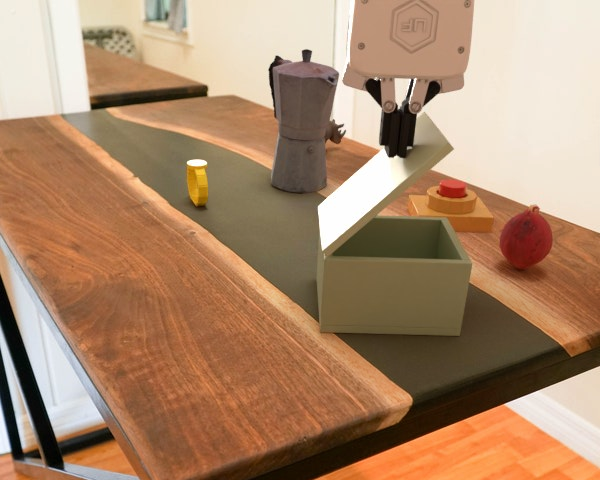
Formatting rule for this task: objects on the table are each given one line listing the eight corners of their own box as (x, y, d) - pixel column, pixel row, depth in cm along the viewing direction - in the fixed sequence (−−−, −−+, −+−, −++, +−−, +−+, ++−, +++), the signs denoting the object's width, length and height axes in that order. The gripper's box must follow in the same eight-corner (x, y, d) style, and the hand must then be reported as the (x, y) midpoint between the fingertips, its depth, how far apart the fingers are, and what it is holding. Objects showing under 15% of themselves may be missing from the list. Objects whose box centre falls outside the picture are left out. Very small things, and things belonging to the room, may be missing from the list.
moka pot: (307, 203, 95) (313, 57, 85) (241, 176, 105) (240, 43, 95) (352, 190, 101) (363, 52, 91) (286, 166, 111) (289, 39, 101)
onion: (534, 285, 74) (550, 218, 70) (486, 270, 77) (498, 205, 73) (551, 268, 78) (567, 204, 74) (505, 255, 81) (518, 193, 77)
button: (461, 191, 91) (463, 179, 90) (467, 200, 88) (469, 188, 87) (435, 191, 91) (437, 178, 90) (441, 200, 88) (442, 187, 87)
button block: (476, 211, 95) (481, 184, 93) (491, 232, 88) (496, 204, 86) (407, 209, 94) (410, 182, 92) (416, 230, 87) (420, 202, 85)
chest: (437, 282, 74) (446, 217, 70) (460, 336, 64) (472, 263, 60) (316, 278, 74) (319, 213, 70) (319, 332, 63) (324, 259, 60)
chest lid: (429, 117, 65) (424, 111, 65) (454, 149, 55) (448, 142, 55) (322, 211, 70) (317, 206, 70) (327, 257, 60) (321, 251, 59)
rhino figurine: (353, 149, 121) (355, 116, 118) (295, 161, 113) (296, 126, 110) (338, 144, 124) (340, 112, 121) (280, 155, 116) (281, 121, 113)
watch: (182, 197, 95) (180, 156, 93) (201, 195, 96) (199, 155, 94) (194, 211, 91) (192, 169, 88) (213, 208, 92) (212, 167, 89)
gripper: (327, -79, 49) (315, 162, 58) (526, -71, 49) (484, 168, 58) (323, -76, 55) (313, 140, 64) (499, -69, 56) (465, 145, 64)
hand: (394, 153), depth 61 cm, fingers closed
